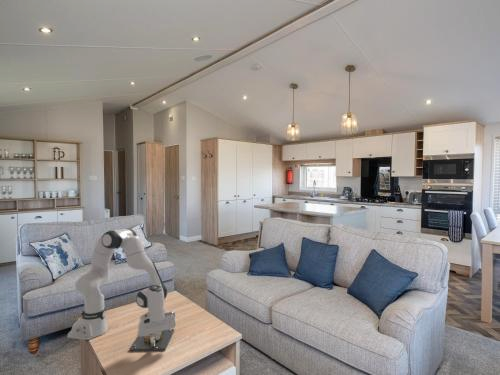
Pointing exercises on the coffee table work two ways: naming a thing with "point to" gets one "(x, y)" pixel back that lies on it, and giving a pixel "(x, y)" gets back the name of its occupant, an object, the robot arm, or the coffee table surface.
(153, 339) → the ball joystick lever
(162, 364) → the coffee table surface
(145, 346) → the flange plate
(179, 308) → the coffee table surface
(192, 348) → the coffee table surface
